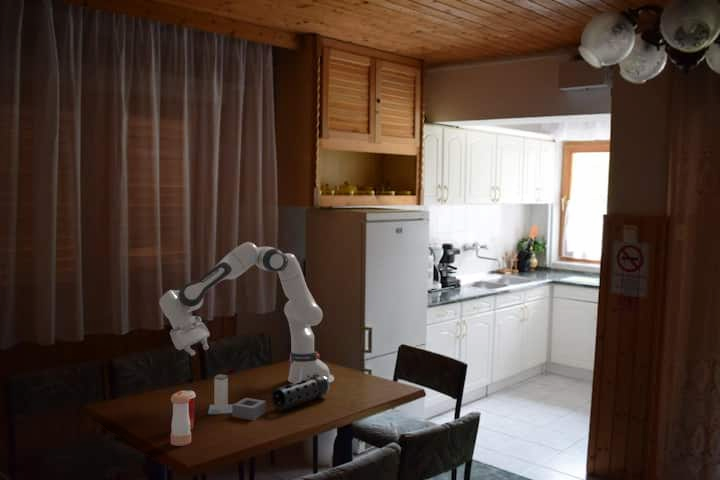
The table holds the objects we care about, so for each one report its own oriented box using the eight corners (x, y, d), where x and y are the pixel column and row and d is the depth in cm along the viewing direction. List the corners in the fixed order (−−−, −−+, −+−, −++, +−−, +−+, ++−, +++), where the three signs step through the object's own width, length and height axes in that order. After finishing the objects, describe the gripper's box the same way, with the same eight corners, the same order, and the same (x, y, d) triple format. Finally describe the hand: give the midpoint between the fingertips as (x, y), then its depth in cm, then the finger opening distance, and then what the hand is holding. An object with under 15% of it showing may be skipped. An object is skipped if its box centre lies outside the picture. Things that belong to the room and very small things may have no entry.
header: (245, 409, 281) (245, 397, 281) (266, 412, 277) (266, 401, 277) (232, 416, 272) (232, 404, 271) (253, 420, 268) (253, 408, 268)
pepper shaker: (166, 444, 243) (166, 392, 241) (178, 437, 249) (178, 387, 248) (183, 447, 240) (182, 395, 238) (195, 440, 247) (194, 389, 245)
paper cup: (179, 424, 262) (178, 389, 261) (198, 424, 262) (198, 390, 261) (172, 431, 255) (172, 395, 254) (192, 432, 254) (192, 396, 253)
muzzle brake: (270, 409, 281) (270, 386, 280) (315, 394, 303) (315, 372, 302) (286, 414, 275) (286, 390, 275) (331, 398, 297) (331, 376, 296)
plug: (219, 406, 282) (219, 374, 281) (227, 407, 281) (227, 375, 280) (214, 409, 279) (214, 376, 277) (222, 410, 277) (222, 377, 276)
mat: (233, 405, 285) (233, 404, 285) (232, 413, 276) (232, 412, 275) (210, 406, 284) (210, 404, 284) (207, 414, 274) (207, 412, 274)
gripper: (173, 327, 278) (190, 354, 276) (202, 316, 297) (218, 342, 295) (163, 334, 280) (180, 362, 279) (193, 323, 299) (209, 349, 297)
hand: (200, 351), depth 287 cm, fingers open, 8 cm apart
